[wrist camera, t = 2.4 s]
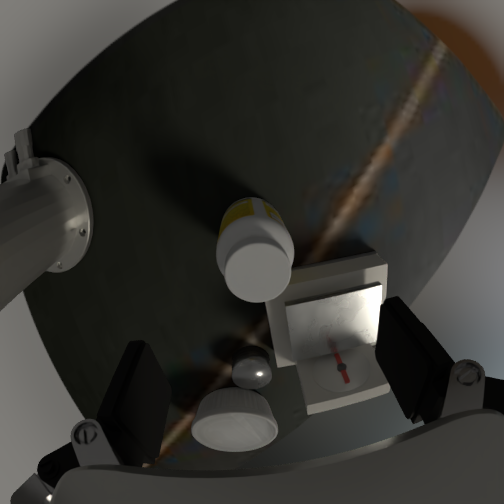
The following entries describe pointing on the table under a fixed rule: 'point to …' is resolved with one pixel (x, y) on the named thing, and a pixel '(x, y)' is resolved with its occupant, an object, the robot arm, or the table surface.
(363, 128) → the table surface
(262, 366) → the shiny gray ball
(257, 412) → the ramekin
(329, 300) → the pan
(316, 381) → the scale housing
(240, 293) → the supplement bottle
